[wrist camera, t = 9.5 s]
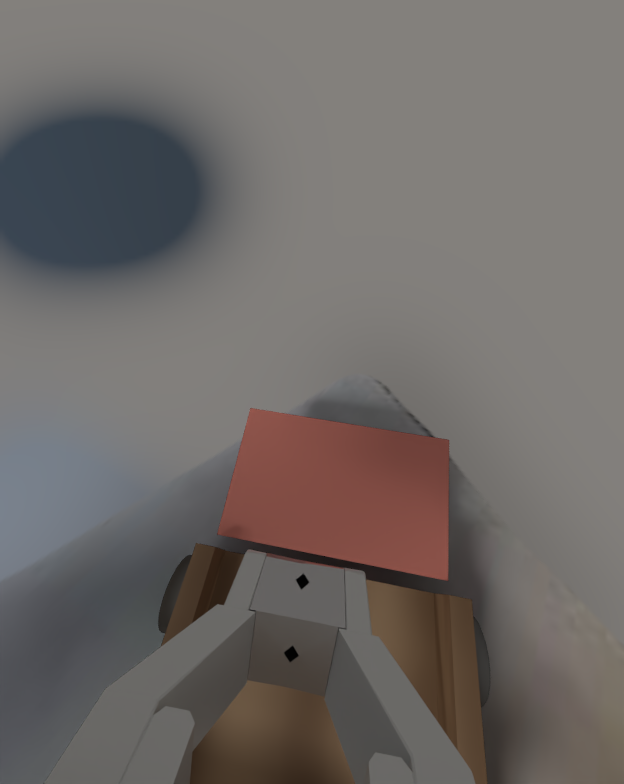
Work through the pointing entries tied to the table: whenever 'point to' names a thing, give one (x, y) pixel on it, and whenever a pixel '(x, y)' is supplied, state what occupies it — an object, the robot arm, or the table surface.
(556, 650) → the table surface
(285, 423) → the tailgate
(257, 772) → the trailer
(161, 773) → the robot arm
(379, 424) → the table surface
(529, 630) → the table surface
